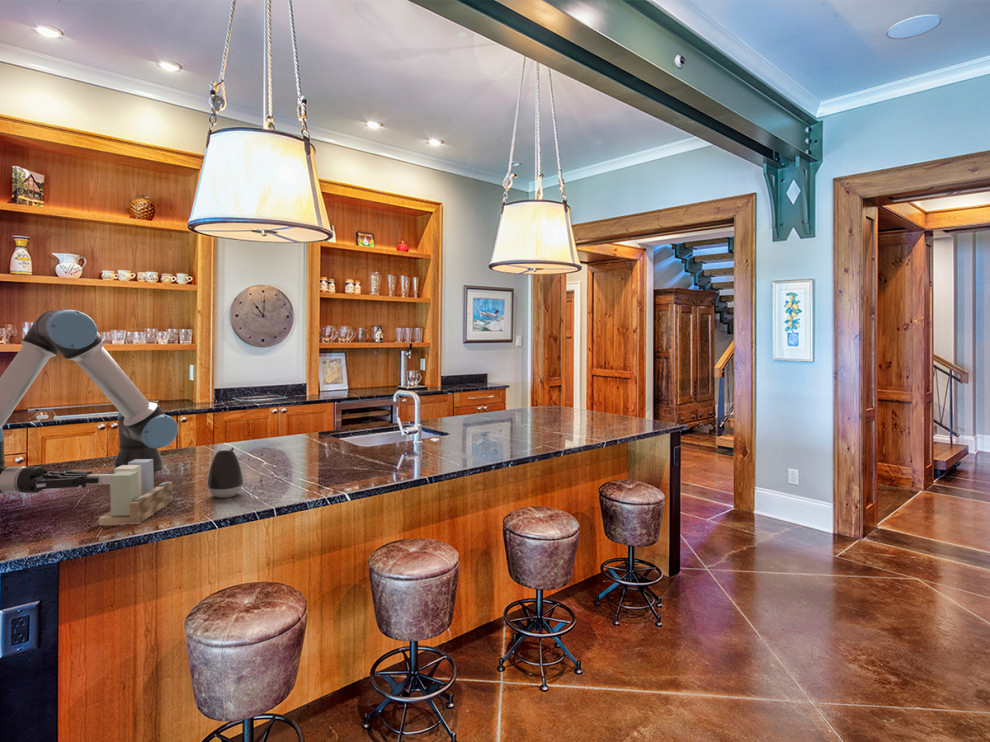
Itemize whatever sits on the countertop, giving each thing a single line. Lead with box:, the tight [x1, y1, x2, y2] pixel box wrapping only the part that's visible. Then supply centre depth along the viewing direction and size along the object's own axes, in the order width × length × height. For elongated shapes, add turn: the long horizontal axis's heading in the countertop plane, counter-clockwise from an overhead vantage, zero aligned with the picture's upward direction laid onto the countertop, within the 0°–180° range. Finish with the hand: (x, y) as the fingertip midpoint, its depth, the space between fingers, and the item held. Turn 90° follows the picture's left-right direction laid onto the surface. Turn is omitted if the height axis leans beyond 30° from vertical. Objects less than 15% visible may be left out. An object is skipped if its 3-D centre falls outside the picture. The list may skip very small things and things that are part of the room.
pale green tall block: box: [109, 471, 138, 516], centre depth 149 cm, size 4×5×11 cm
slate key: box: [128, 459, 155, 495], centre depth 162 cm, size 4×5×11 cm
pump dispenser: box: [206, 447, 244, 499], centre depth 173 cm, size 10×10×15 cm
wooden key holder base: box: [98, 481, 174, 526], centre depth 156 cm, size 20×10×6 cm, turn 7°
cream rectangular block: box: [113, 465, 142, 497], centre depth 155 cm, size 4×5×11 cm
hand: (112, 479), depth 161 cm, fingers closed
